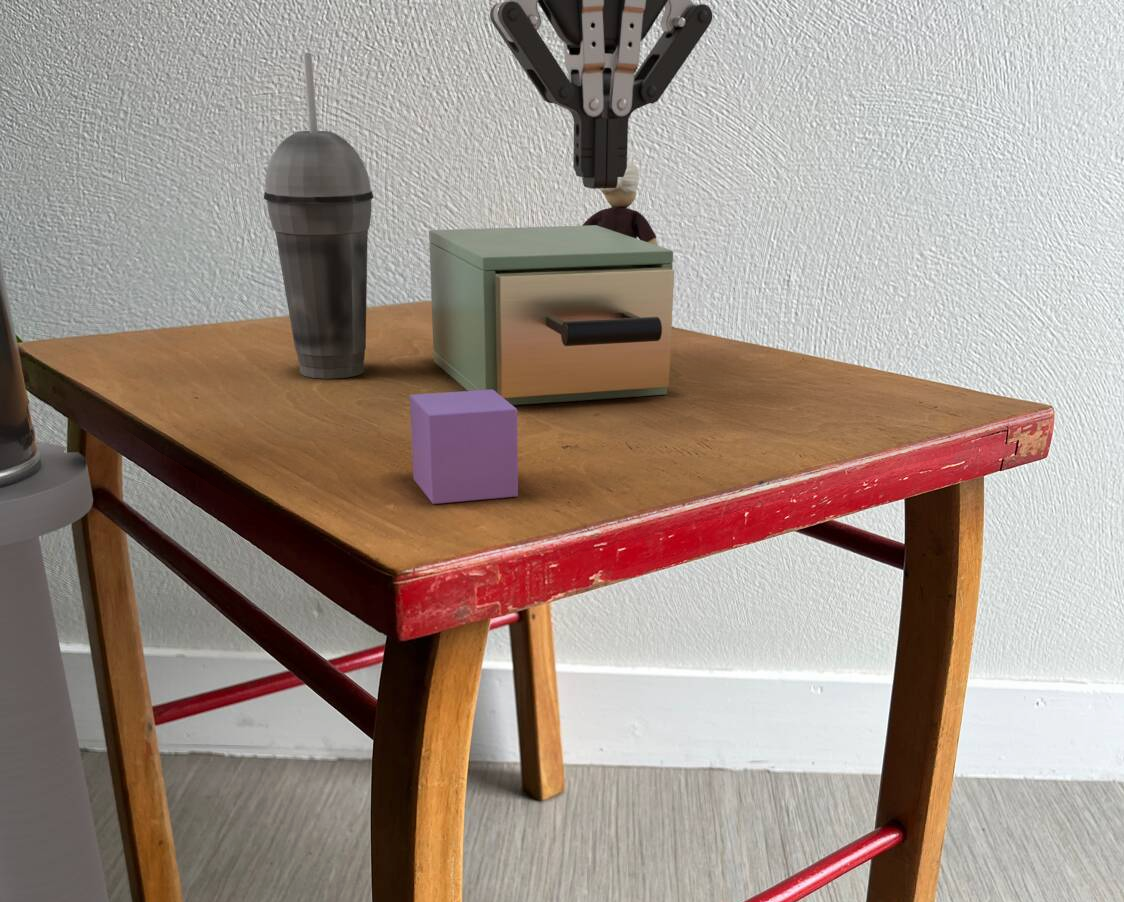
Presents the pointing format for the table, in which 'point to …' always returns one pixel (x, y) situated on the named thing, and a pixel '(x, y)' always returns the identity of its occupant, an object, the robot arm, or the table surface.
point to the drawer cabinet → (470, 290)
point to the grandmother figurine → (623, 209)
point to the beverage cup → (322, 243)
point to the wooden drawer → (583, 329)
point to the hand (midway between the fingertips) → (599, 187)
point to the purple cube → (464, 446)
